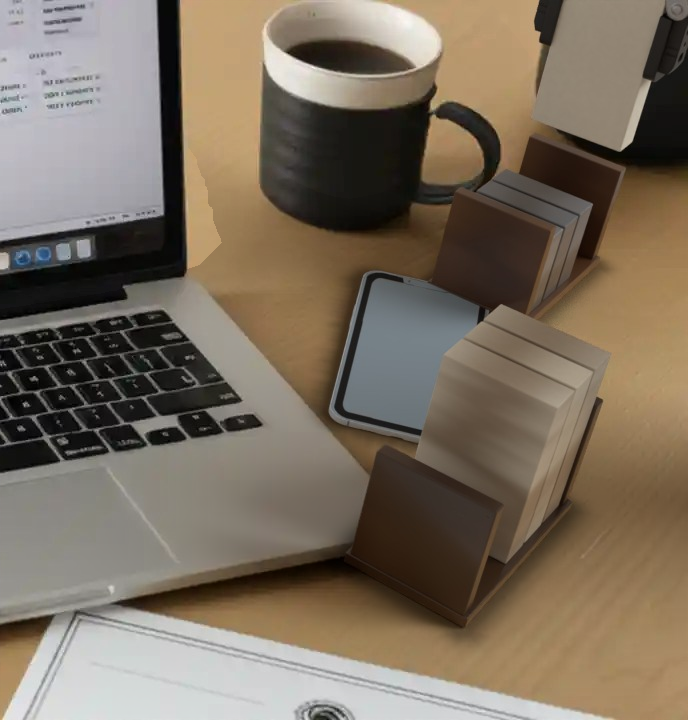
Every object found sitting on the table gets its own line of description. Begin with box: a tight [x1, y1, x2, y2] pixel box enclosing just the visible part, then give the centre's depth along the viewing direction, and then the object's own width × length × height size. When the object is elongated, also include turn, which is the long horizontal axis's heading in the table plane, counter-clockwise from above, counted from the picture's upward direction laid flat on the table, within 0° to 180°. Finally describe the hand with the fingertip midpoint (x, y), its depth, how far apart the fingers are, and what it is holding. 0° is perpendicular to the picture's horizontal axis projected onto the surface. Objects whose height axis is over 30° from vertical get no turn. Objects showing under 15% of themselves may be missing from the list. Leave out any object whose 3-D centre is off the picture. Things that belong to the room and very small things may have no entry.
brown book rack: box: [343, 304, 612, 629], centre depth 75 cm, size 6×11×10 cm, turn 141°
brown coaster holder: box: [427, 132, 627, 321], centre depth 96 cm, size 6×10×7 cm, turn 141°
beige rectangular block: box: [530, 0, 667, 152], centre depth 92 cm, size 6×2×9 cm, turn 51°
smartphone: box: [328, 270, 489, 444], centre depth 90 cm, size 7×1×15 cm
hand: (601, 57), depth 92 cm, fingers closed on beige rectangular block, 5 cm apart
